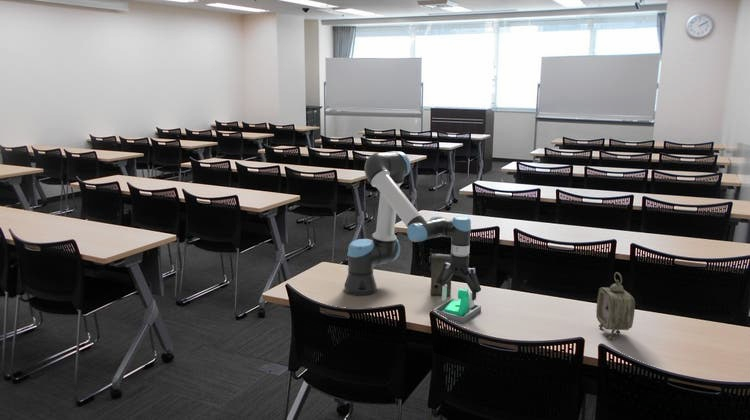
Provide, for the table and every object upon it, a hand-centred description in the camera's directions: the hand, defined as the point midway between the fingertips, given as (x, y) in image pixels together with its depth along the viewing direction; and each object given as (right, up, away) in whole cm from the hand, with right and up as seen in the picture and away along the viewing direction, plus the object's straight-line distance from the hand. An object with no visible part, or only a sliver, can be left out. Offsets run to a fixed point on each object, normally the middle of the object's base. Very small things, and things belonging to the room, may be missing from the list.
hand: (457, 303), depth 237 cm
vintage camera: (-4, +1, +27) cm, 27 cm away
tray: (0, -4, +1) cm, 4 cm away
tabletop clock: (+58, -9, -17) cm, 61 cm away
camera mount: (0, -4, +1) cm, 4 cm away
